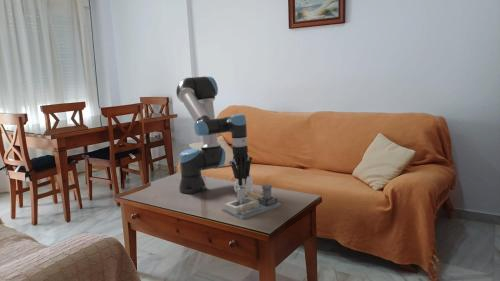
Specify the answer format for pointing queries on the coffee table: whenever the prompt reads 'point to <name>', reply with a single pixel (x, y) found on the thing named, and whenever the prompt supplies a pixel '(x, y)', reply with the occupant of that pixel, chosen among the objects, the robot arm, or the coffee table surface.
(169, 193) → the coffee table surface
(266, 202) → the ring lever
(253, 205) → the plate
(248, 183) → the mug
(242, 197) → the pin
